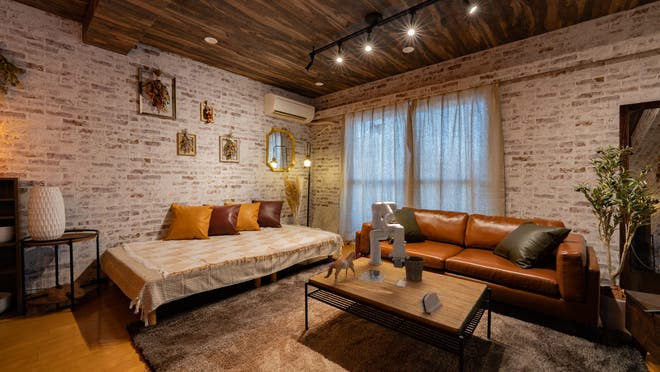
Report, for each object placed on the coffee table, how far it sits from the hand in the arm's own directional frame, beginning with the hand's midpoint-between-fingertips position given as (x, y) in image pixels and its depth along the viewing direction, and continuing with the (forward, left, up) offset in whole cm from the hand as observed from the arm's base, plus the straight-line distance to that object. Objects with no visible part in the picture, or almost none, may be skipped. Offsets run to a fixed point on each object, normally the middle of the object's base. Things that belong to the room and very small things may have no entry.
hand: (398, 265), depth 206 cm
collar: (0, 0, -1) cm, 1 cm away
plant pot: (-16, +9, -14) cm, 23 cm away
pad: (0, 0, -14) cm, 14 cm away
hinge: (+30, +25, -14) cm, 42 cm away
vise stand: (-1, -21, -14) cm, 25 cm away
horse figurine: (+12, -43, -14) cm, 47 cm away
